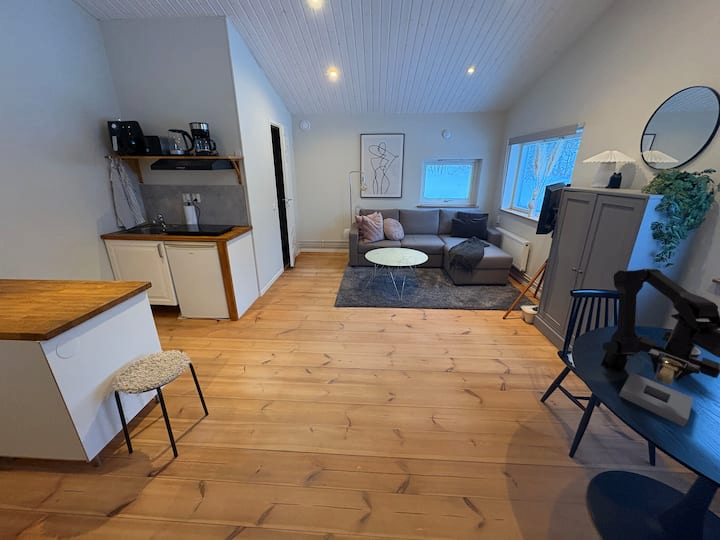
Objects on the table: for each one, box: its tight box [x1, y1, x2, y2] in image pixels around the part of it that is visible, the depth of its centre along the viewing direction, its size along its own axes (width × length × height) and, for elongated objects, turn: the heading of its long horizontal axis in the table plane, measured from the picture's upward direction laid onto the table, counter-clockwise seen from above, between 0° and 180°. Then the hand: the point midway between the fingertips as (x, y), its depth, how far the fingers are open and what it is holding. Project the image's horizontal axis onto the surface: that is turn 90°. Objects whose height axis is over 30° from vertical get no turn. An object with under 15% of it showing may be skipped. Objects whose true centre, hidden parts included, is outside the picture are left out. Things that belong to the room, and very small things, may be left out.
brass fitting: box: [654, 357, 683, 385], centre depth 96 cm, size 5×5×7 cm
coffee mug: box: [664, 347, 702, 374], centre depth 114 cm, size 12×9×10 cm
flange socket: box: [618, 372, 694, 428], centre depth 100 cm, size 16×14×3 cm
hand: (664, 376), depth 97 cm, fingers closed on brass fitting, 5 cm apart
